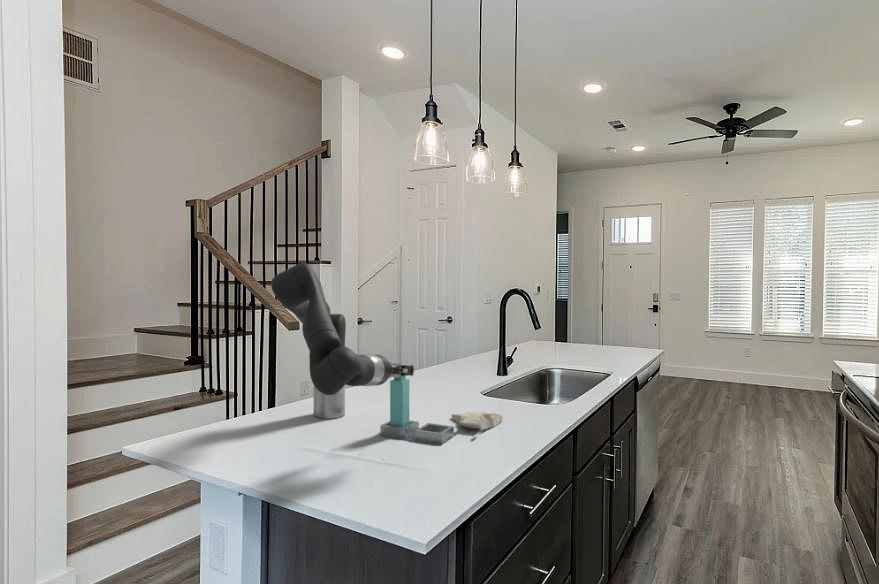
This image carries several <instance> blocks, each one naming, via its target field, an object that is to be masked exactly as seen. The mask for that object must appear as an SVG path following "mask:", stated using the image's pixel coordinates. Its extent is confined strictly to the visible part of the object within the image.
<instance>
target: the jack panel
mask: <svg viewBox="0 0 879 584" xmlns="http://www.w3.org/2000/svg"><path fill="white" fill-rule="evenodd" d="M419 424H420V422H419V421H417V420H416V421H415V420H411V419H409V425H408V426H406V427H404V428H403V427H396V426H390V420H389V421H387V422H385V423H382V424H381V425H380V427H379V428H380V431H379V434H376V435H375V437H378V438H385V439H391V440H399V441H405V442H411V443H416V444H425V445H428V446H429V445H430V446H437V447H442V446H443V445H444V444H446V443H447V442H449V441H451V439H453V438H455V436H457V435H459V433H457V432H454V431H455V430H454V429H455V427H454V425H446V424H438V423H430V422H427V423H426V424H424V425H423V426H420V425H419Z"/></svg>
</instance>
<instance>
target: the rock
mask: <svg viewBox="0 0 879 584" xmlns="http://www.w3.org/2000/svg"><path fill="white" fill-rule="evenodd" d="M450 415H451V418H452V420H453V421H455V422H456V423H457V424H459V425H460V426H462V427H464V428H466V429H469V430H470V429H471V430H479V431H484V430H488V429H490V428H495V427H496V426H499V424H500V423H501V422H502V421H503V419H504V417H503V416H502V415H500V413H497V412H496V411H495V412H494V411H493V412H492V411H491V412H487V411H486V412H484V411H483V412H482V411H481V412H480V411H479V412H477V411H476V412H471V411H466V412H463V413H452V414H450Z"/></svg>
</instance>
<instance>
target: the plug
mask: <svg viewBox="0 0 879 584" xmlns="http://www.w3.org/2000/svg"><path fill="white" fill-rule="evenodd" d="M406 377H407V376H400V377H393V379H390V383H389V388H390V389H389V393H390V394H389V399H390V400H389V402H390V403H389V405H390V406H389V410H390V411H389V421H390V426H396V427H403V428H404V427H406V426H408V425H409V420H410V378H406Z"/></svg>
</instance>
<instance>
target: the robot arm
mask: <svg viewBox="0 0 879 584" xmlns="http://www.w3.org/2000/svg"><path fill="white" fill-rule="evenodd" d="M270 282H271V283H270V286H271V290H272V293H273V295H274V297H275V298H276V300H277V301H278V302H279V303H280V304H281V305H282V306H283V307H284V308H286V309H287V310H288V311H290V312H291V313H292V314H293V315H294V316H296V319H298V321H299V322H300V323H301V324H302V326H301V327H302V328H301V329H302V336H303V339H304V341H305V343H306V346H307V348H308V350H309V354H308V355H309V376H310V379H311V382H312V384H313V416H315V417H317V418H319V419H337V418H342V417H344V416H345V415H346V386H350V387H374V386H375V387H376V386H381V385H383V384H385V383H386V382H387V381H388V380H389V379H391V378H394V377H400V376H406V377H408V376H410V377H412V376H414V371H415V370H414V369H415V366H414V365H412V364H410V365H408V364H402V363H400V362H399V363H398V362H397V363H394V362H393V363H392V362H390V361H389V360H388V359H387V358H386V357H385V356H384V355H381V354H373V353H362V354H358V353H355V352H354V351H353V350H352V349H351V348H350V347H348V346H346V329H347V328H346V325H347V322H346V318H345V316H344V314H341V313H331V308H330V306H329V303H328V302H327V300H326V297H325V294H324V291H323V287H322V284H321V281H320V279H319V277H318V276H317V273H316V272H315V271H314V269H313V268H312V266H311V265H310V264H309V263H307V262H300V263H298V264H295V265H293V266H291V267H289V268H287V269H285V270H284V271H282V272H280V273H277V274H276V275H275V276H274V277H273V278H272V279H271V281H270Z"/></svg>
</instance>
